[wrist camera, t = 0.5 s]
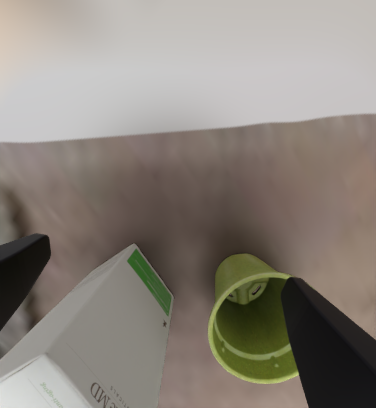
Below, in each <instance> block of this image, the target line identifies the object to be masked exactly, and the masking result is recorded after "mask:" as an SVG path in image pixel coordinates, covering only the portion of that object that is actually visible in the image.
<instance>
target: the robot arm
mask: <svg viewBox="0 0 376 408" xmlns="http://www.w3.org/2000/svg"><path fill="white" fill-rule="evenodd" d="M50 256H51V249H50V241H49V237H48V236H47V235H44V234H38V233H36V234H32V235H29V236H26V237H23V238H20V239H18V240H15V241H12V242H9V243H6V244H3V245H0V331H1V329H2V328H3V327H4V326H5V324H6V323H7V322H8V320H9V319H10V318H11V316H12V315H13V314H14V312H15V311H16V310H17V308H18V307H19V306H20V305H21V303H22V302H23V300H24V299H25V298H26V296H27V295H28V293H29V292H30V290H31V288H32V287H33V285H34V284H35V282H36V280H37V279H38V277H39V275H40V274H41V272H42V271H43V269H44V267H45V266H46V264H47V262H48V261H49V259H50ZM280 298H281V303H282V308H283V314H284V319H285V324H286V329H287V334H288V339H289V342H290V346H291V349H292V353H293V356H294V360H295V363H296V366H297V370H298V373H299V376H300V380H301V383H302V387H303V390H304V393H305V397H306V400H307V403H308V407H309V408H376V340H375V339H374V338H373V337H371V336H370V335H369V334H368V333H367V332H365V331H364V330H363V329H362V328H360V327H359V326H358V325H357V324H356V323H354V322H353V321H352V320H351V319H350V318H348V317H347V316H346V315H345V314H344V313H342V312H341V311H340V310H339V309H337V308H336V307H335V306H334V305H333V304H331V303H330V302H329V301H328V300H327V299H325V298H324V297H323V296H322V295H321V294H319V293H318V292H317V291H316V290H315V289H313V288H312V287H311V286H310V285H308V284H307V283H306V282H305V281H304V280H302V279H301V278H297V277H289V278H288V279H287V281H286V283H285V285H284V287H283V289H282V291H281V295H280Z"/></svg>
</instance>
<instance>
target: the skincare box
mask: <svg viewBox="0 0 376 408" xmlns="http://www.w3.org/2000/svg"><path fill="white" fill-rule="evenodd" d="M173 302H174V296H173V295H172V293H171V292H170V291H169V289H168V288H167V287H166V285H165V284H164V282H163V281H162V279H161V278H160V277H159V275H158V274H157V273H156V271H155V270H154V269H153V267H152V266H151V265H150V263H149V262H148V261H147V259H146V258H145V256H144V255H143V254H142V252H141V251H140V249H139V248H138V246H137V245H136V244H135V243H133V244H132V245H130V246H128V247H127V248H125V249H124V250H122V251H121V252H119V253H118V254H116V255H115V256H113V257H112V258H110V259H109V260H108V261H106V262H105V263H103V264H102V265H100V266H99V267H97V268H96V269H94V270H93V271H91V272H90V273H89V274H88V275H87V276H86V277H85V278H84V279H83V280H82V281H81V282H80V283H79V284H78V285H77V286H76V287H75V288H74V289H73V290H72V291H71V292H70V293H69V294H68V295H67V296H66V297H64V298H63V299H62V300H61V301H60V302H59V303H58V304H57V305H56V306H55V307H54V308H53V309H52V310H51V311H50V312H49V313H48V314H47V315H46V316H45V317H44V318H43V319H42V320H41V321H40V322H39V323H38V324H37V325H36V326H35V327H34V328H33V329H32V330H31V331H29V332H28V333H27V334H26V335H25V336H24V337H23V338H22V339H21V340H20V341H19V342H18V343H17V344H16V345H15V346H14V347H13V348H12V349H11V350H10V351H9V352H8V353H7V354H6V355H5V356H4V357H3V358H2V359H1V360H0V408H157V407H158V401H159V394H160V387H161V380H162V374H163V367H164V361H165V354H166V347H167V341H168V335H169V328H170V322H171V315H172V308H173Z"/></svg>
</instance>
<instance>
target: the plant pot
mask: <svg viewBox="0 0 376 408" xmlns="http://www.w3.org/2000/svg"><path fill="white" fill-rule="evenodd" d="M289 277H295V276H292V275H289V274H286V273H281V272H277V271H276V270H274V269H273V268H271V267H270V266H269V265H267V264H266V263H264V262H263V261H262V260H260V259H259V258H257V257H255V256H253V255H251V254H236V255H231V256H229V257H228V258H226V259H225V260H224V261H223V262H222V263H221V264H220V265H219V267H218V269H217V271H216V274H215V304H214V306H213V308H212V311H211V314H210V317H209V322H208V339H209V344H210V348H211V351H212V353H213V355H214V357H215V358H216V360H217V361H218V362H219V364H220V365H221V366H222V367H223V368H224V369H225V370H226V371H228V372H229V373H231V374H232V375H234V376H236V377H238V378H240V379H242V380H245V381H249V382H253V383H258V384H271V383H279V382H283V381H286V380H288V379H291V378H293V377H296V376H298V375H299V373H298V370H297V366H296V363H295V360H294V356H293V353H292V349H291V346H290V342H289V339H288V334H287V329H286V324H285V319H284V314H283V308H282V303H281V298H280V295H281V291H282V289H283V287H284V285H285V283H286V281H287V279H288V278H289ZM307 284H308V283H307ZM308 285H309V284H308ZM258 286H260V287H261V288H260V289H259V290H258V292H257V293H256V294H254V295H252V293H253V292H254V291H255V290H256V289H257V288H258ZM311 287H312V286H311ZM312 288H313V287H312ZM313 289H314V288H313ZM229 294H231V295H233V297H231V296H228V295H229Z"/></svg>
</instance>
